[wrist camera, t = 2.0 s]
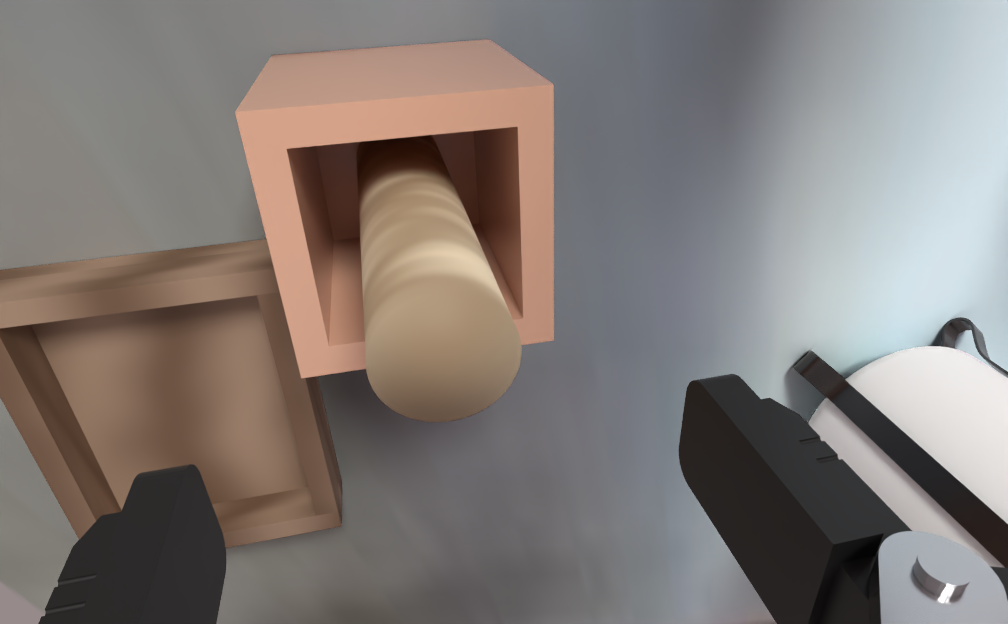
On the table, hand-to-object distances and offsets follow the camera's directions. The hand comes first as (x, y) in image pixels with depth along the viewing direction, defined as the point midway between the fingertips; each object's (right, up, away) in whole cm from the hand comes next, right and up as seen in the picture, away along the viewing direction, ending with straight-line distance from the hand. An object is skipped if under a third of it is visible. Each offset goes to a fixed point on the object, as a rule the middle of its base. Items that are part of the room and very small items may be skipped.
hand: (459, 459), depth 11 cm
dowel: (-3, +8, +14) cm, 17 cm away
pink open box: (-4, +9, +15) cm, 18 cm away
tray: (-13, -1, +19) cm, 23 cm away
